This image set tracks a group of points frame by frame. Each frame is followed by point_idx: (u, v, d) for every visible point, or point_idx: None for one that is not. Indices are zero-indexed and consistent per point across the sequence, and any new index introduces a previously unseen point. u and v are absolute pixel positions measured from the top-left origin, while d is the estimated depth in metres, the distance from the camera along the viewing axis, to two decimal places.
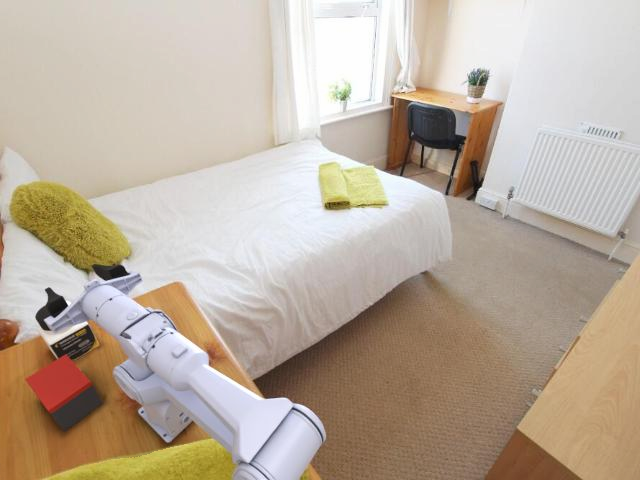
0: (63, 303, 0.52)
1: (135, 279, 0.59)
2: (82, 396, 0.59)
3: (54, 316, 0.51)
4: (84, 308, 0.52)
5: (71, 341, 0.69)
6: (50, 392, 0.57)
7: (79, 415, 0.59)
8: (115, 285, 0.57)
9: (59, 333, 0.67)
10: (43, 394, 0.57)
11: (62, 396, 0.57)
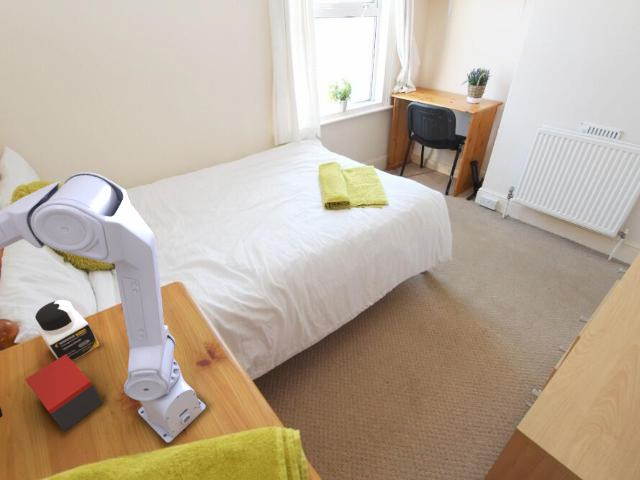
0: None
1: None
2: (82, 396, 0.59)
3: None
4: None
5: (71, 341, 0.69)
6: (50, 392, 0.57)
7: (79, 415, 0.59)
8: None
9: (59, 333, 0.67)
10: (43, 394, 0.57)
11: (62, 396, 0.57)
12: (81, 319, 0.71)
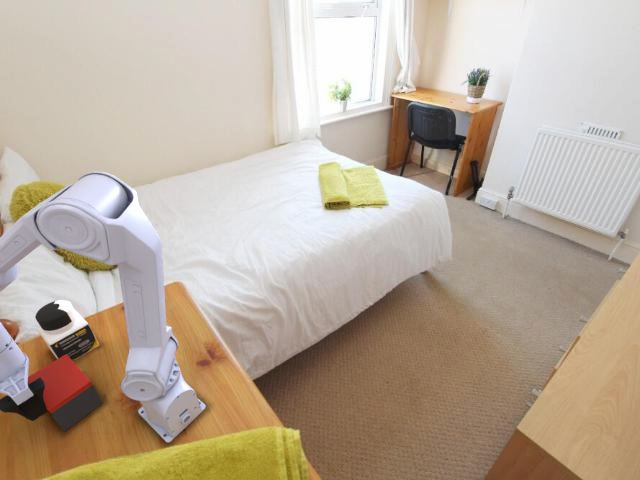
0: (5, 398, 0.50)
1: None
2: (83, 396, 0.59)
3: None
4: None
5: (71, 341, 0.69)
6: (50, 392, 0.57)
7: (79, 415, 0.59)
8: None
9: (59, 333, 0.67)
10: (43, 394, 0.57)
11: (62, 396, 0.57)
12: (81, 319, 0.71)
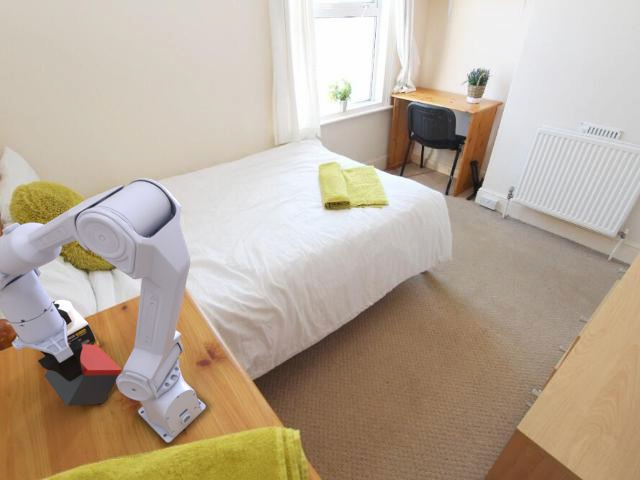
0: (47, 357, 0.53)
1: None
2: (106, 380, 0.62)
3: None
4: (39, 337, 0.52)
5: (71, 341, 0.69)
6: (87, 360, 0.61)
7: (87, 398, 0.60)
8: None
9: None
10: (81, 358, 0.60)
11: (99, 367, 0.60)
12: (81, 319, 0.71)
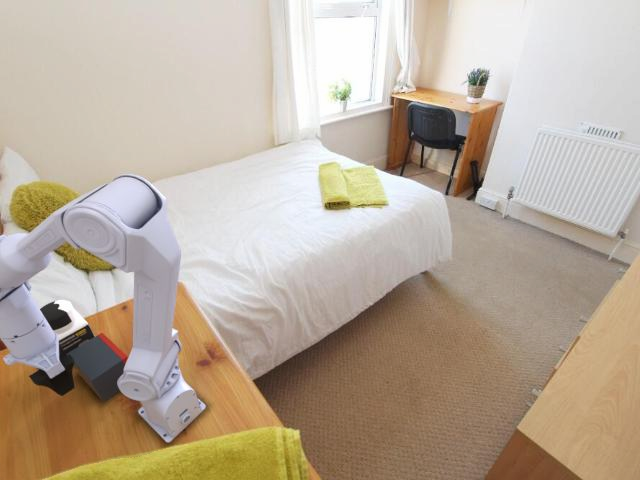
0: (38, 372, 0.52)
1: None
2: None
3: None
4: (30, 352, 0.52)
5: (71, 341, 0.69)
6: None
7: (103, 386, 0.61)
8: None
9: (59, 333, 0.67)
10: (118, 348, 0.66)
11: None
12: (81, 319, 0.71)
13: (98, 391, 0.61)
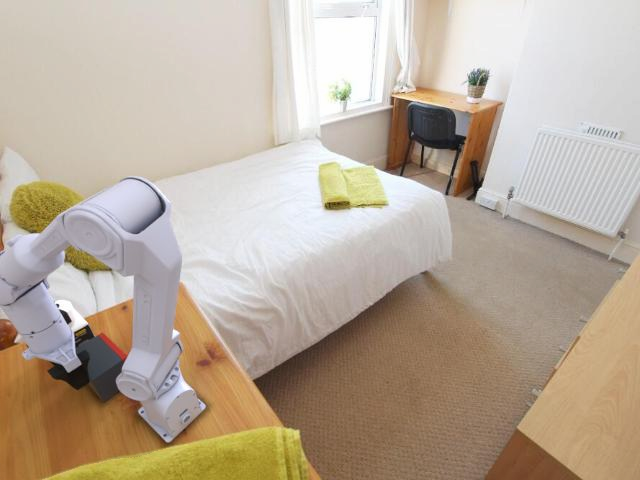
0: (55, 366, 0.54)
1: None
2: None
3: None
4: (48, 347, 0.54)
5: None
6: None
7: (103, 385, 0.61)
8: None
9: None
10: None
11: None
12: (81, 319, 0.71)
13: (98, 391, 0.61)
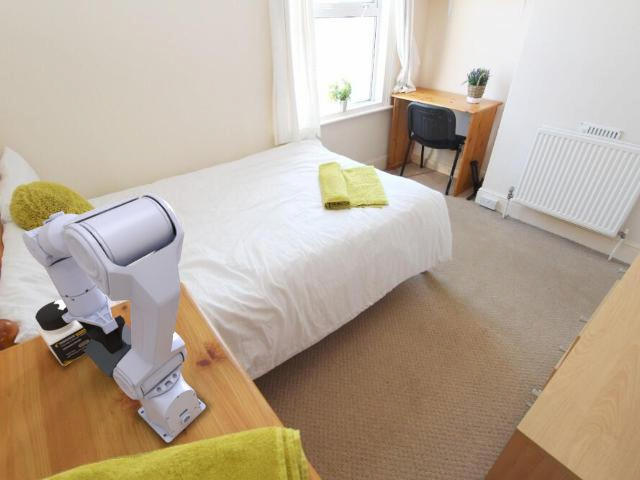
0: (94, 329, 0.57)
1: None
2: None
3: None
4: (87, 311, 0.57)
5: (71, 341, 0.69)
6: None
7: None
8: None
9: (59, 333, 0.67)
10: None
11: None
12: None
13: (118, 360, 0.62)
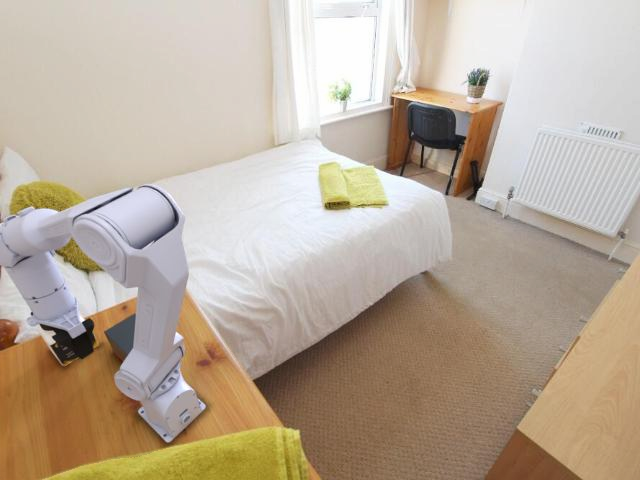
0: (60, 333, 0.54)
1: None
2: None
3: None
4: (52, 313, 0.54)
5: None
6: None
7: None
8: None
9: None
10: None
11: None
12: (81, 319, 0.71)
13: None
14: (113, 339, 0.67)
